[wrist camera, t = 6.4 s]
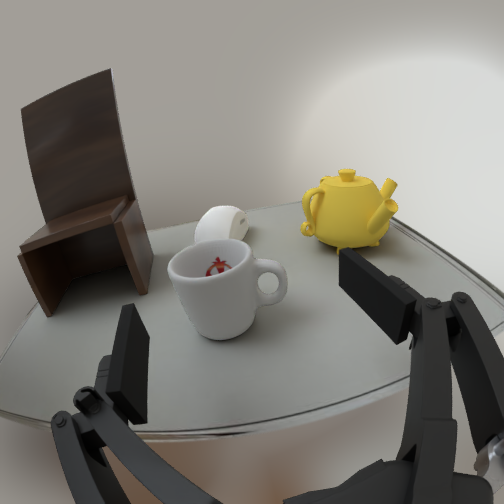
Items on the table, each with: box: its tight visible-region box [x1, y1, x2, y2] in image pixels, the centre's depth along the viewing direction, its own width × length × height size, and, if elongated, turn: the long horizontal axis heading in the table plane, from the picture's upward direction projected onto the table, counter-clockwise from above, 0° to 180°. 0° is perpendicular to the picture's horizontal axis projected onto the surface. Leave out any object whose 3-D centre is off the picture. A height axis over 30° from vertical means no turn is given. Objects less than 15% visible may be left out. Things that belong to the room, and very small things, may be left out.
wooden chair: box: [17, 68, 153, 317], centre depth 32 cm, size 13×18×34 cm
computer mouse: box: [194, 206, 249, 244], centre depth 46 cm, size 6×13×6 cm, turn 166°
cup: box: [168, 239, 288, 340], centre depth 26 cm, size 11×8×8 cm
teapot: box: [301, 169, 398, 255], centre depth 38 cm, size 14×14×11 cm
